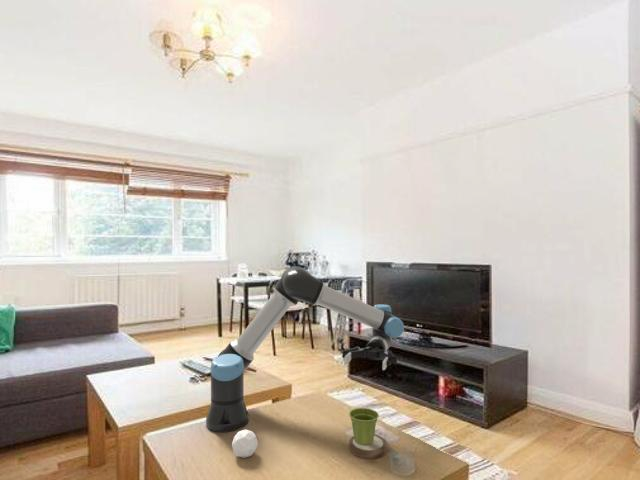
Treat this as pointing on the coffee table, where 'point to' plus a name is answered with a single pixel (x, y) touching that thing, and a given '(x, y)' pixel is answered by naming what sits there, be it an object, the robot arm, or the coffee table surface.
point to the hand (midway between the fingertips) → (364, 363)
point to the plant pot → (363, 425)
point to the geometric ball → (244, 443)
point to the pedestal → (369, 448)
